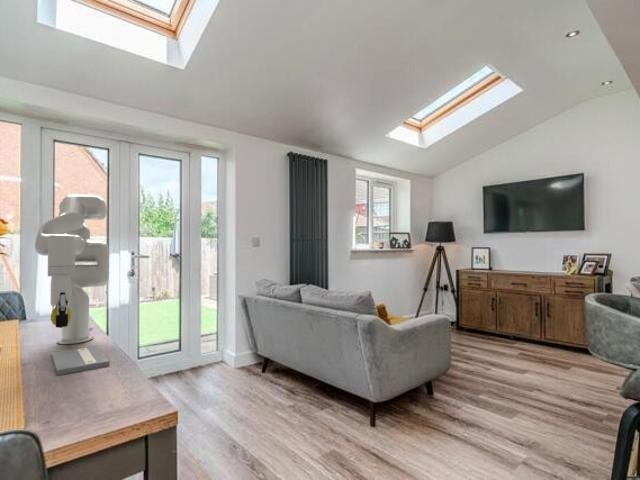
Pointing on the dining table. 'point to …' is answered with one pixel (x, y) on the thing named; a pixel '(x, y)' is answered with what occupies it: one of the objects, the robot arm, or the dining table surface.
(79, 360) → the panel
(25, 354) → the dining table surface
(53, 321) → the lemon
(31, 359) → the dining table surface
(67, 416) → the dining table surface
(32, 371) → the dining table surface
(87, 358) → the strip
